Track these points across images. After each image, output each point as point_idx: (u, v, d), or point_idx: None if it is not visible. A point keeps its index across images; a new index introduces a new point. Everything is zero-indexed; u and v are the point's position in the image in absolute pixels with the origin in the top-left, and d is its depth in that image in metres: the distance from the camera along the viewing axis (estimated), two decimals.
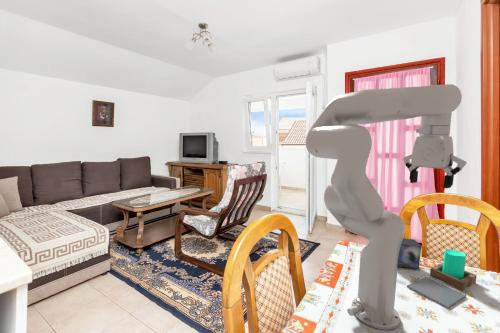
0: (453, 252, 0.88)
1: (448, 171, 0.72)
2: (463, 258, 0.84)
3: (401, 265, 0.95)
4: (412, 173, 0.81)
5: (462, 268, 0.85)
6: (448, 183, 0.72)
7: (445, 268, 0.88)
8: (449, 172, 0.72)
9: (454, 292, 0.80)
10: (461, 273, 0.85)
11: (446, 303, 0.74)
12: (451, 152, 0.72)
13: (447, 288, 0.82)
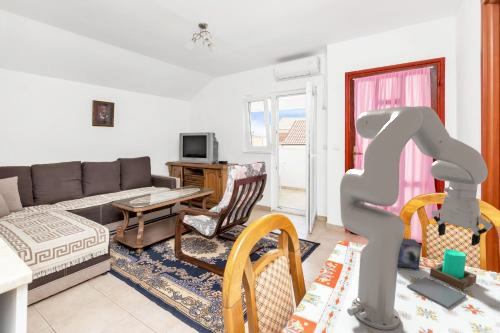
0: (453, 252, 0.88)
1: (475, 231, 0.81)
2: (463, 258, 0.84)
3: (401, 265, 0.95)
4: (441, 227, 0.90)
5: (462, 268, 0.85)
6: (475, 241, 0.82)
7: (445, 268, 0.88)
8: (476, 232, 0.81)
9: (454, 292, 0.80)
10: (461, 273, 0.85)
11: (446, 303, 0.74)
12: (478, 214, 0.81)
13: (447, 288, 0.82)
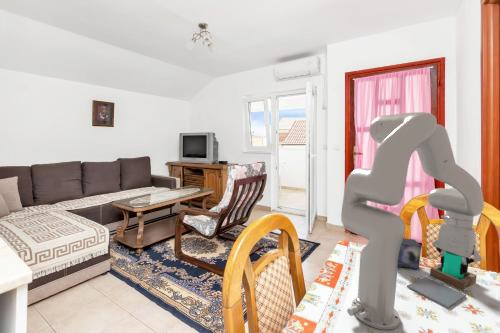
0: None
1: (464, 261, 0.84)
2: None
3: (401, 265, 0.95)
4: (443, 259, 0.89)
5: None
6: (463, 270, 0.85)
7: (445, 268, 0.88)
8: (465, 262, 0.84)
9: (454, 292, 0.80)
10: None
11: (446, 303, 0.74)
12: (474, 244, 0.82)
13: (447, 288, 0.82)
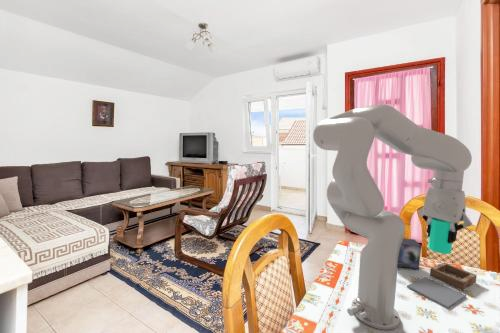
0: None
1: (453, 227, 0.75)
2: None
3: (401, 265, 0.95)
4: (430, 227, 0.80)
5: None
6: (451, 238, 0.75)
7: (431, 237, 0.79)
8: (453, 229, 0.75)
9: (454, 292, 0.80)
10: None
11: (446, 303, 0.74)
12: (463, 208, 0.73)
13: (447, 288, 0.82)
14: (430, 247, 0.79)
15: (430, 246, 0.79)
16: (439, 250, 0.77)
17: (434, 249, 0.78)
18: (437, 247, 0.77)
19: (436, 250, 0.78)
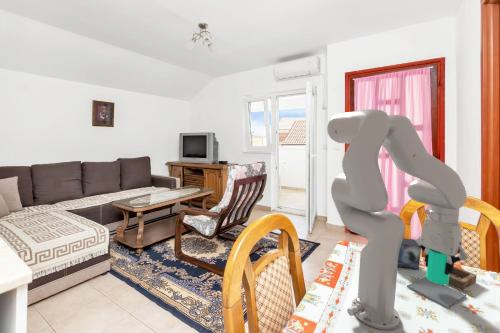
0: None
1: (450, 260, 0.76)
2: None
3: (401, 265, 0.95)
4: (427, 257, 0.81)
5: None
6: (449, 270, 0.77)
7: (429, 267, 0.80)
8: (450, 261, 0.76)
9: (454, 292, 0.80)
10: None
11: (446, 303, 0.74)
12: (459, 241, 0.74)
13: (447, 288, 0.82)
14: (428, 277, 0.81)
15: (428, 276, 0.81)
16: (437, 281, 0.78)
17: (432, 280, 0.79)
18: (435, 278, 0.79)
19: (434, 281, 0.79)
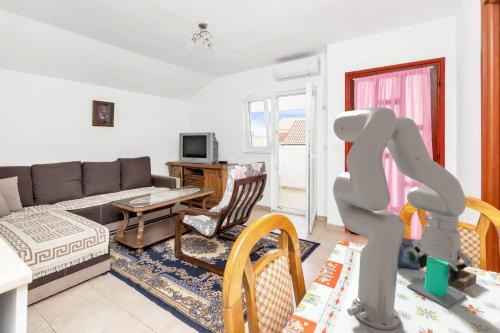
0: (436, 260, 0.81)
1: (455, 266, 0.75)
2: (446, 267, 0.77)
3: (401, 265, 0.95)
4: (421, 259, 0.83)
5: (445, 278, 0.77)
6: (454, 277, 0.75)
7: (427, 278, 0.80)
8: (456, 267, 0.75)
9: (454, 292, 0.80)
10: (444, 284, 0.78)
11: (446, 303, 0.74)
12: (459, 248, 0.75)
13: (447, 288, 0.82)
14: (426, 288, 0.81)
15: (426, 287, 0.81)
16: (435, 292, 0.79)
17: (430, 290, 0.80)
18: (433, 289, 0.79)
19: (432, 291, 0.79)
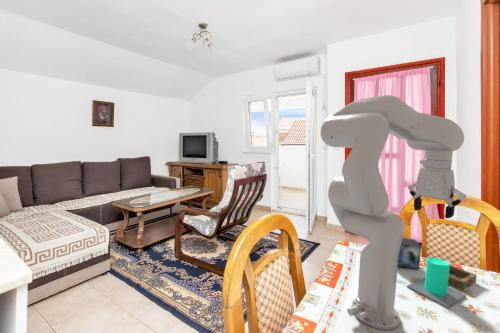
0: (436, 260, 0.81)
1: (449, 203, 0.78)
2: (446, 267, 0.77)
3: (401, 265, 0.95)
4: (416, 201, 0.87)
5: (445, 278, 0.77)
6: (449, 213, 0.78)
7: (427, 278, 0.80)
8: (450, 204, 0.77)
9: (454, 292, 0.80)
10: (444, 284, 0.78)
11: (446, 303, 0.74)
12: (452, 185, 0.78)
13: (447, 288, 0.82)
14: (426, 288, 0.81)
15: (426, 287, 0.81)
16: (435, 292, 0.79)
17: (430, 290, 0.80)
18: (433, 289, 0.79)
19: (432, 291, 0.79)
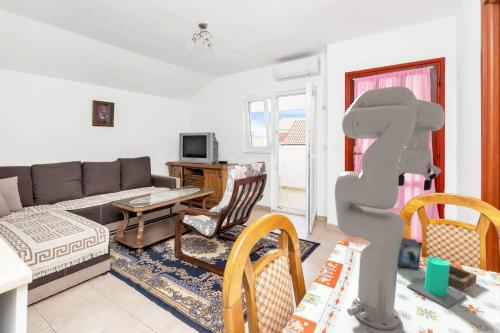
0: (436, 260, 0.81)
1: (427, 177, 0.89)
2: (446, 267, 0.77)
3: (401, 265, 0.95)
4: (399, 178, 0.98)
5: (445, 278, 0.77)
6: (427, 186, 0.90)
7: (427, 278, 0.80)
8: (428, 177, 0.89)
9: (454, 292, 0.80)
10: (444, 284, 0.78)
11: (446, 303, 0.74)
12: (429, 162, 0.89)
13: (447, 288, 0.82)
14: (426, 288, 0.81)
15: (426, 287, 0.81)
16: (435, 292, 0.79)
17: (430, 290, 0.80)
18: (433, 289, 0.79)
19: (432, 292, 0.79)
